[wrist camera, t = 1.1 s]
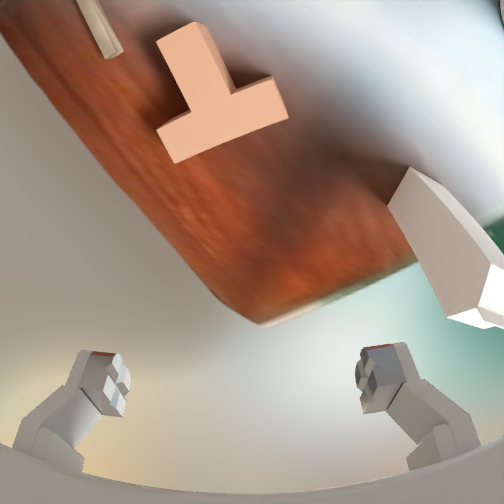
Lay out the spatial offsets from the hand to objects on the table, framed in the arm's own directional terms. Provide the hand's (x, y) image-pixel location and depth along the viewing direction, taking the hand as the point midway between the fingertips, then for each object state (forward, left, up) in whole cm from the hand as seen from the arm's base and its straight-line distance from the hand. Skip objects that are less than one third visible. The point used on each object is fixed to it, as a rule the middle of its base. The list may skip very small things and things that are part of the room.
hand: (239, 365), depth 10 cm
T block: (+3, -8, -28) cm, 30 cm away
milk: (-15, +13, -29) cm, 35 cm away
